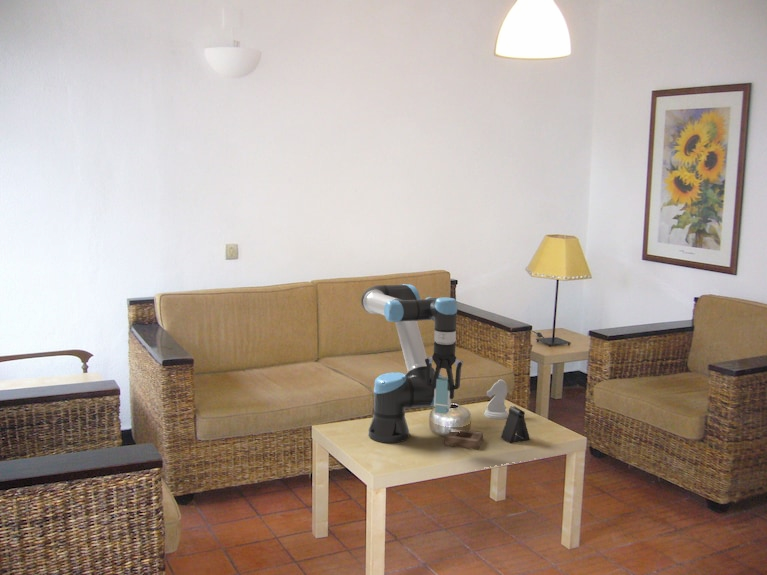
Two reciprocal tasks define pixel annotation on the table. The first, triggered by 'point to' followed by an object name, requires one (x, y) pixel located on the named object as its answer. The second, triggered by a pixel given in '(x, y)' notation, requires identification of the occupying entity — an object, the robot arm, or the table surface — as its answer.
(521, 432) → the picture frame
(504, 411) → the chess piece
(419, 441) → the table surface
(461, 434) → the board
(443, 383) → the peg
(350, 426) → the table surface
